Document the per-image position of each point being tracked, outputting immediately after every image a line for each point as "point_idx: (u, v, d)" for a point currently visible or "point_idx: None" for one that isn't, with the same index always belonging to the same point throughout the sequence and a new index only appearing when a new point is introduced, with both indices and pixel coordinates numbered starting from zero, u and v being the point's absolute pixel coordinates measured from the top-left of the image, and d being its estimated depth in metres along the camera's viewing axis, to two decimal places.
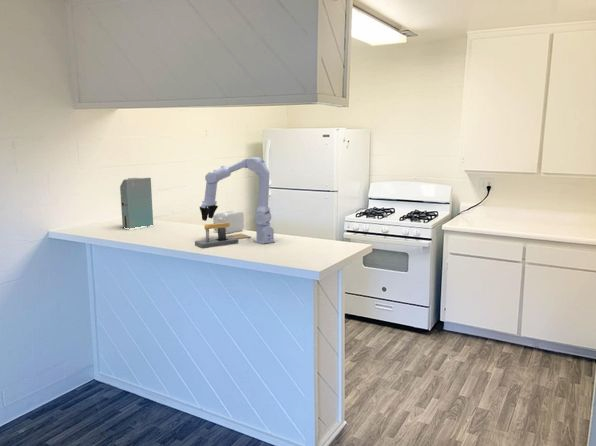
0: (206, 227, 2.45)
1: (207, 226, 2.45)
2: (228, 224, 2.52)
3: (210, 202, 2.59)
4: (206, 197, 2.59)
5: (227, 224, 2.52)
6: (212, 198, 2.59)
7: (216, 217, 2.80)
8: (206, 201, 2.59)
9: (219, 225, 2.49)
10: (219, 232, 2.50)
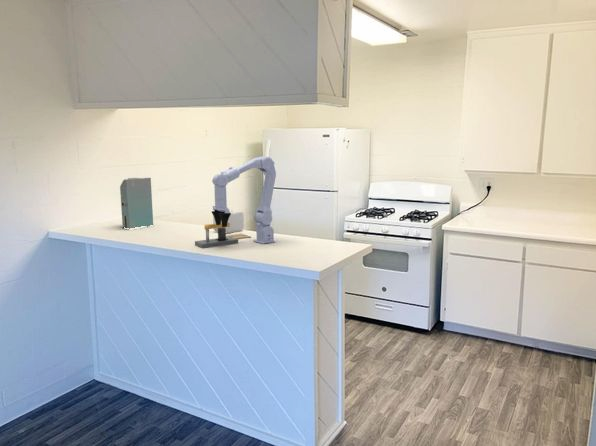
0: (206, 227, 2.45)
1: (207, 226, 2.45)
2: (228, 224, 2.52)
3: (225, 206, 2.42)
4: (221, 202, 2.40)
5: (227, 224, 2.52)
6: (226, 201, 2.42)
7: None
8: (222, 206, 2.40)
9: (219, 225, 2.49)
10: (219, 232, 2.50)
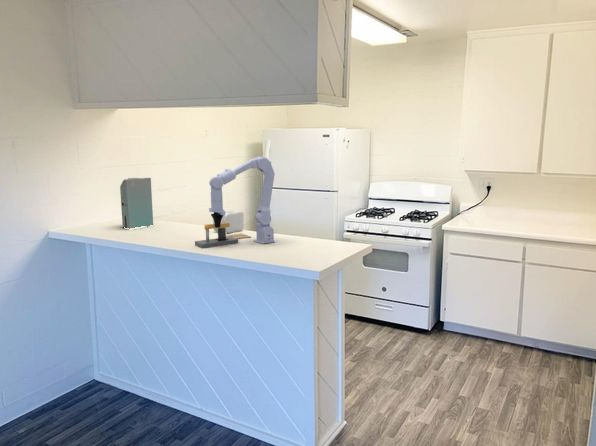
0: (206, 227, 2.45)
1: (207, 226, 2.45)
2: (228, 224, 2.52)
3: (221, 208, 2.46)
4: (217, 204, 2.43)
5: (227, 224, 2.52)
6: (222, 203, 2.46)
7: None
8: (218, 208, 2.44)
9: None
10: (219, 232, 2.50)
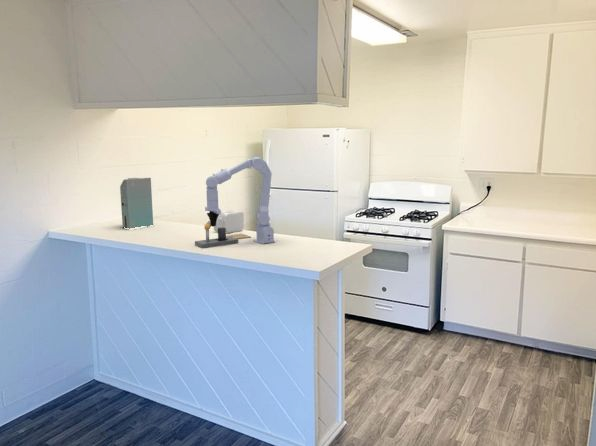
0: (208, 227, 2.46)
1: (209, 226, 2.46)
2: None
3: (217, 207, 2.50)
4: (213, 203, 2.48)
5: None
6: None
7: None
8: (214, 207, 2.48)
9: (210, 224, 2.53)
10: (219, 232, 2.50)
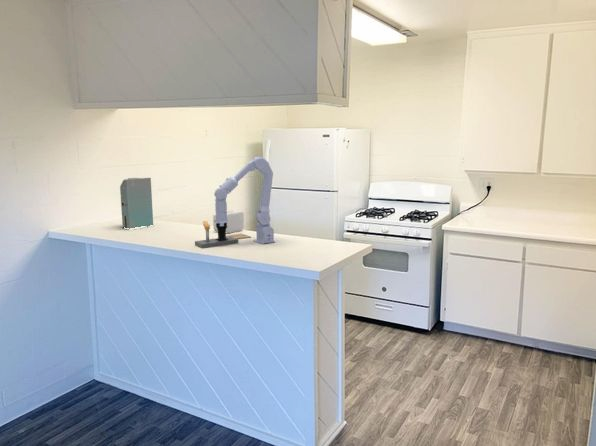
0: (209, 227, 2.46)
1: (209, 226, 2.46)
2: (207, 222, 2.58)
3: (224, 219, 2.48)
4: (219, 215, 2.47)
5: (207, 222, 2.57)
6: (225, 214, 2.49)
7: None
8: (220, 219, 2.48)
9: None
10: None
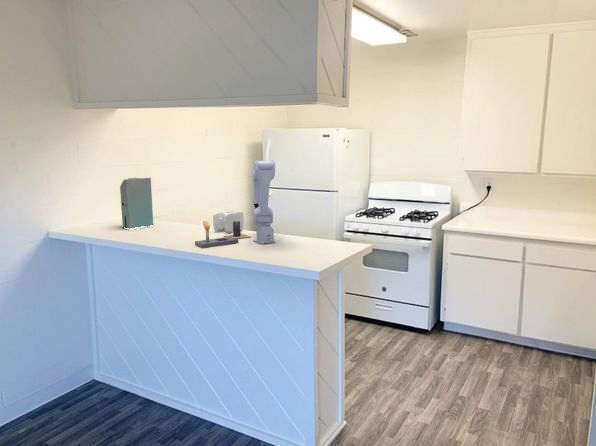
0: (209, 227, 2.46)
1: (209, 226, 2.46)
2: (207, 222, 2.58)
3: None
4: (258, 196, 2.66)
5: (207, 222, 2.57)
6: None
7: (216, 217, 2.80)
8: (258, 199, 2.66)
9: None
10: (234, 225, 2.66)
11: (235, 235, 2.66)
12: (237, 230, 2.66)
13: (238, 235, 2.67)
